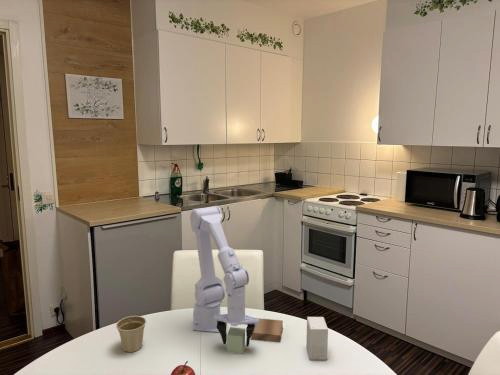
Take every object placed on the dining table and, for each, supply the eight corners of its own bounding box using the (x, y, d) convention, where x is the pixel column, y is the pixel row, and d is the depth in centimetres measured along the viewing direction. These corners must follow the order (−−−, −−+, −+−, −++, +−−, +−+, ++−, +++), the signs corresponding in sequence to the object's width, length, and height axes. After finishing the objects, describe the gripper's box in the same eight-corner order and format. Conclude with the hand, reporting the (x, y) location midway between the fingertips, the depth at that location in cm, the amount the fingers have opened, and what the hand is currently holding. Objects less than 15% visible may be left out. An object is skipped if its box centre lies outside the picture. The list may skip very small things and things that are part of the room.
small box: (327, 360, 118) (328, 329, 116) (309, 360, 118) (310, 329, 116) (322, 345, 126) (324, 316, 124) (306, 345, 126) (307, 316, 124)
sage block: (227, 352, 122) (227, 335, 121) (230, 343, 127) (230, 327, 126) (242, 353, 121) (242, 336, 120) (245, 345, 126) (245, 328, 125)
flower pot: (112, 347, 124) (110, 323, 123) (137, 335, 131) (136, 312, 129) (126, 359, 118) (125, 333, 116) (152, 346, 125) (151, 322, 123)
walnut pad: (251, 340, 129) (251, 332, 129) (255, 325, 139) (255, 318, 138) (280, 343, 128) (280, 335, 127) (282, 328, 137) (282, 320, 137)
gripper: (211, 309, 119) (211, 348, 121) (256, 313, 116) (256, 353, 119) (216, 299, 126) (217, 336, 128) (259, 302, 123) (259, 340, 125)
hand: (236, 343), depth 124 cm, fingers open, 7 cm apart
